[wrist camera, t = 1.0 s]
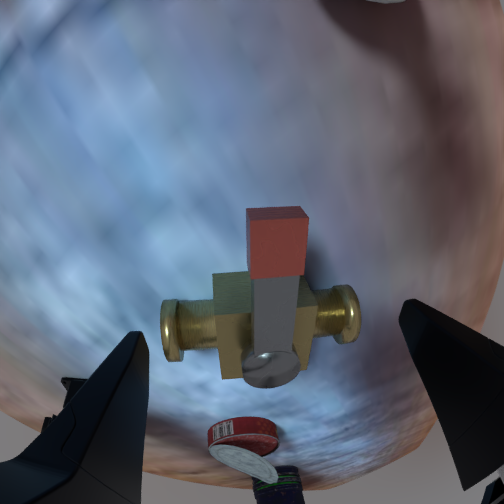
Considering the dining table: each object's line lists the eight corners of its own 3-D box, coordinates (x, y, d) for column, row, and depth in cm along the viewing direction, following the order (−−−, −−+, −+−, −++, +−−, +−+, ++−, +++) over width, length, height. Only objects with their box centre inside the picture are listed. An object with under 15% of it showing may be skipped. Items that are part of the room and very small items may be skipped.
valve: (332, 324, 28) (352, 366, 23) (176, 339, 27) (172, 387, 22) (344, 263, 25) (372, 303, 20) (162, 277, 23) (153, 324, 18)
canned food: (246, 420, 44) (237, 475, 38) (198, 408, 39) (185, 470, 33) (303, 422, 37) (294, 486, 31) (254, 411, 32) (242, 488, 26)
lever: (293, 368, 22) (297, 384, 20) (241, 374, 21) (243, 391, 20) (310, 205, 15) (320, 217, 14) (234, 209, 15) (236, 221, 14)
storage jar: (255, 467, 46) (267, 534, 33) (304, 462, 48) (320, 525, 35) (247, 481, 50) (256, 539, 37) (290, 477, 52) (303, 532, 39)
